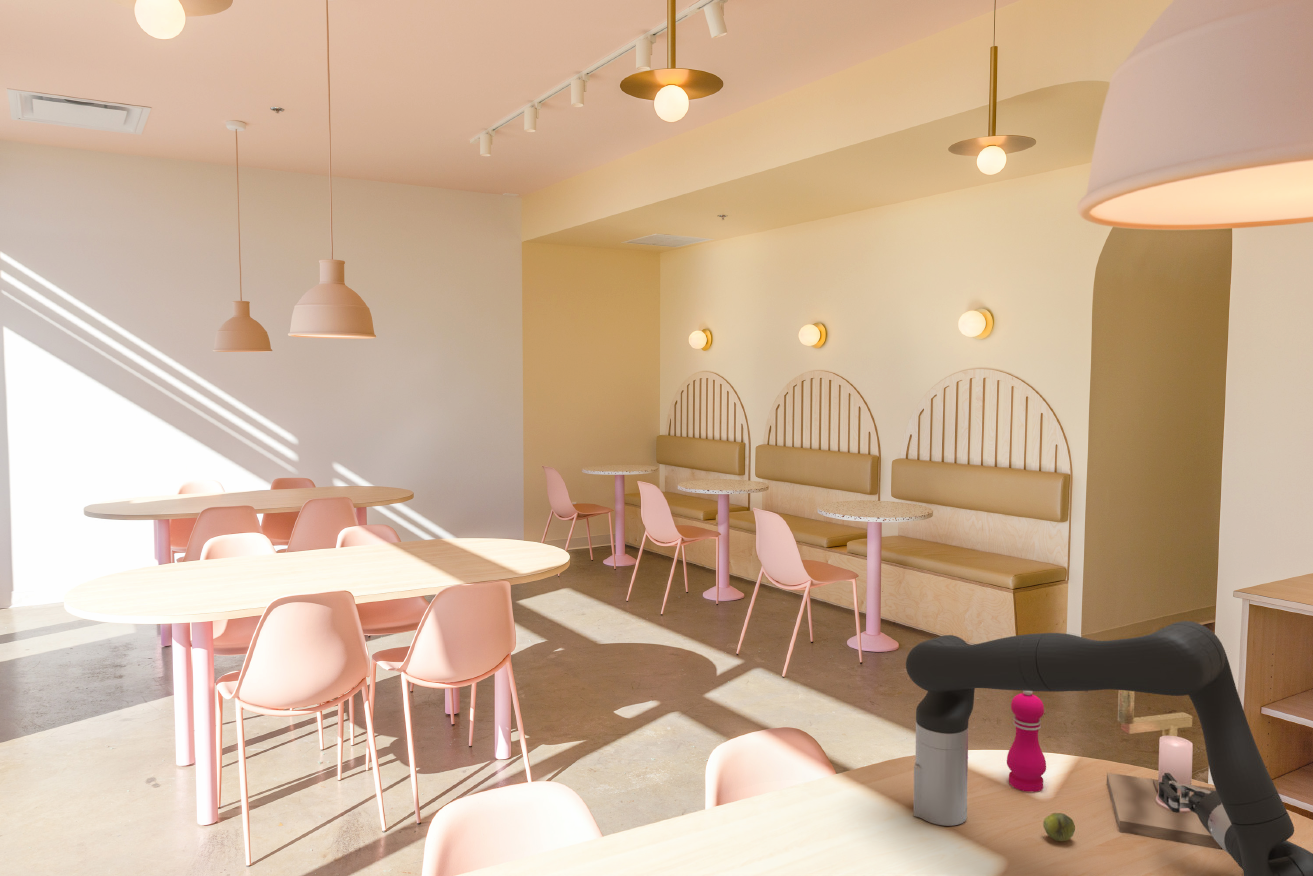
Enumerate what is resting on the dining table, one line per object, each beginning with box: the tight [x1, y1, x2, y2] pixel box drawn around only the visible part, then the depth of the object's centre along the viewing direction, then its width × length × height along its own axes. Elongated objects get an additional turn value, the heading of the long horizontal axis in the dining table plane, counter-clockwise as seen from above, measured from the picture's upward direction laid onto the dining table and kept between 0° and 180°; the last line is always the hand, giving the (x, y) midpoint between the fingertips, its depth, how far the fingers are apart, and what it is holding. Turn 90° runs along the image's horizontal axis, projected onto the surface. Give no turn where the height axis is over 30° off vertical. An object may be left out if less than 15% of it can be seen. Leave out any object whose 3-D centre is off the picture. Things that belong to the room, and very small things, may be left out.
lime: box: [1043, 812, 1076, 842], centre depth 149 cm, size 4×5×5 cm
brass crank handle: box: [1117, 690, 1193, 737], centre depth 160 cm, size 16×3×27 cm, turn 103°
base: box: [1106, 772, 1224, 850], centre depth 157 cm, size 20×20×3 cm
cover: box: [1156, 735, 1194, 813], centre depth 156 cm, size 6×6×12 cm
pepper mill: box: [1006, 691, 1047, 793], centre depth 168 cm, size 7×7×20 cm
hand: (1193, 779), depth 146 cm, fingers open, 8 cm apart
